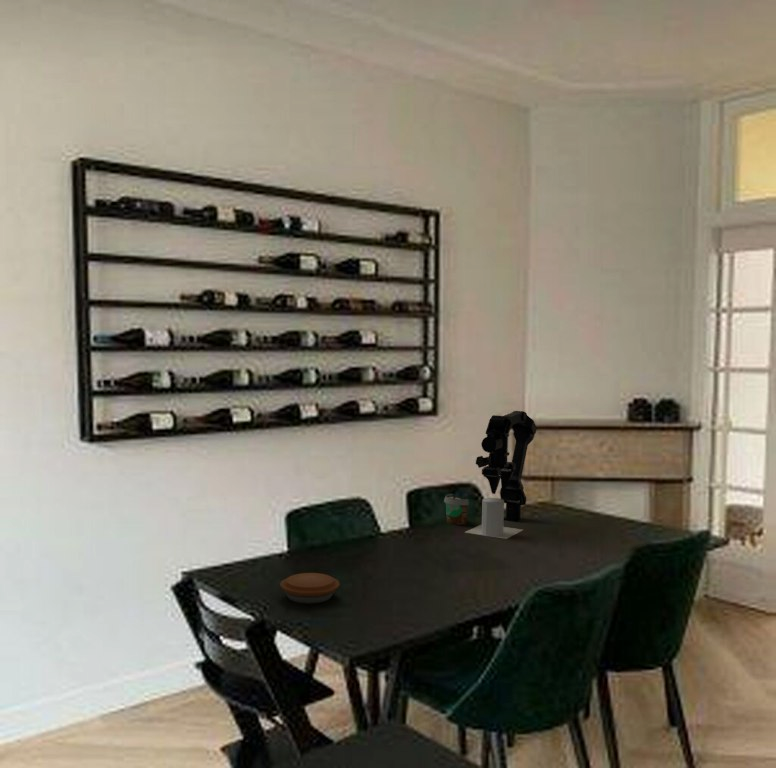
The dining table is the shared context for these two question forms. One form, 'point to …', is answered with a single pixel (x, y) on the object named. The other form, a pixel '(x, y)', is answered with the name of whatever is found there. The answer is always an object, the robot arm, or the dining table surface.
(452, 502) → the food container
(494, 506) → the cover cup
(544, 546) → the dining table surface
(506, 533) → the placemat
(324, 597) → the pie
